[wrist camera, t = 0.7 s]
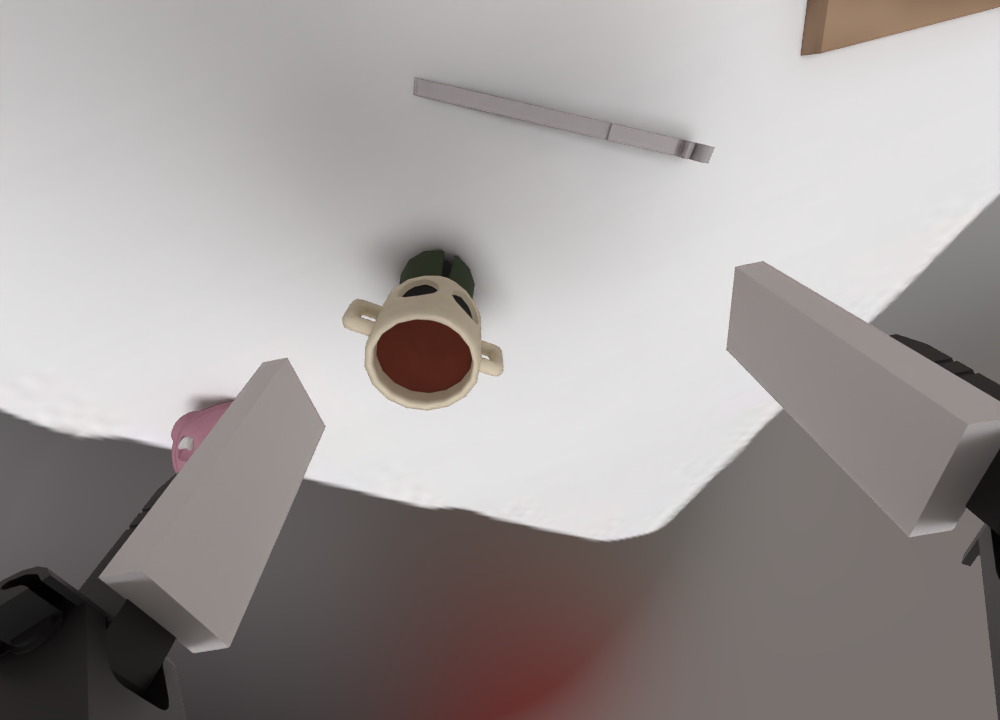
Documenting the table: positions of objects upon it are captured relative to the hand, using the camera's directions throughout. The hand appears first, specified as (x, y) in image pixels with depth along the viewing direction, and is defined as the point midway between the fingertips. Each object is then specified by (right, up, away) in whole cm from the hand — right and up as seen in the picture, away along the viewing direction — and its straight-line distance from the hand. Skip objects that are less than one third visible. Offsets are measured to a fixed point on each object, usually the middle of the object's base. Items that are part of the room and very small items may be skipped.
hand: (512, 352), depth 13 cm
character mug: (-6, +6, +24) cm, 26 cm away
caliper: (+4, +17, +18) cm, 25 cm away
